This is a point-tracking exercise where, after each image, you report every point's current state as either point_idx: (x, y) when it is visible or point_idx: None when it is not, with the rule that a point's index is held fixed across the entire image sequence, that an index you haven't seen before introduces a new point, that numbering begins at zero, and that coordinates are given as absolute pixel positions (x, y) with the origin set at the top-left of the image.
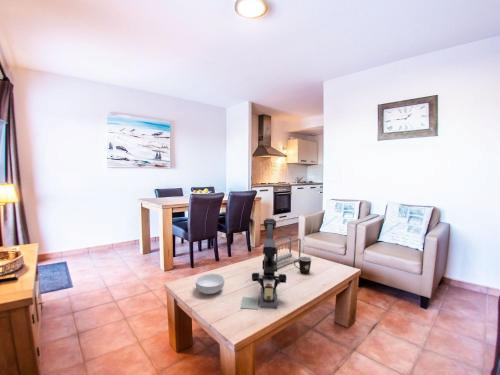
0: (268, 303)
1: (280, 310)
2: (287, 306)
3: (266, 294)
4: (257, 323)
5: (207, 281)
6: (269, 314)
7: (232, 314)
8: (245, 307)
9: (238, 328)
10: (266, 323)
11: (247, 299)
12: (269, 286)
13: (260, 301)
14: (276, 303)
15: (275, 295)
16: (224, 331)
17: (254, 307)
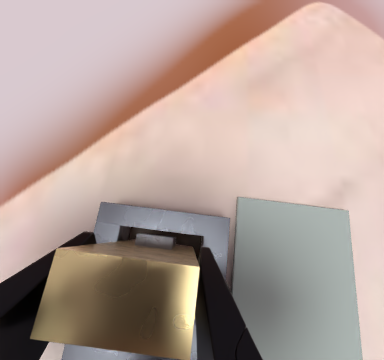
0: (165, 210)
1: (99, 185)
2: (37, 229)
3: (173, 252)
4: (240, 84)
5: None
6: (172, 149)
7: (375, 154)
8: (317, 212)
9: (322, 58)
10: (198, 83)
11: (317, 326)
12: (99, 339)
13: (225, 238)
14: (105, 206)
15: (75, 349)
16: (375, 45)
17: (259, 212)
